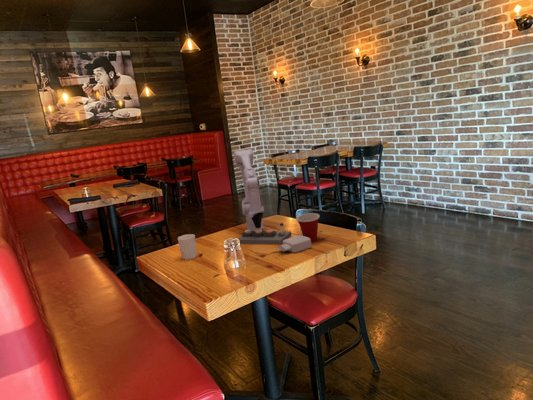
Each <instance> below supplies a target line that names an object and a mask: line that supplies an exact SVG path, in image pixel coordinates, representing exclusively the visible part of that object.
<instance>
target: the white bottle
mask: <svg viewBox="0 0 533 400" xmlns="http://www.w3.org/2000/svg"><path fill="white" fill-rule="evenodd" d="M311 248H312V242H311V239H310V238H308V237H305V236H303V235H301V234H299V235H295V236H292V237H289V238H288V239H285V240H283V243H282V244H280V245H279V246H278V247H277V248H276V250H278V251H279V252H280V251H281V252H282V253H283V252H287V251H288V252H290V253H295V254H297V253H298V252H302V251H305V250H308V249H311Z"/></svg>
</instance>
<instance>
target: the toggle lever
mask: <svg viewBox="0 0 533 400" xmlns="http://www.w3.org/2000/svg"><path fill="white" fill-rule="evenodd" d="M279 227H280V228H279V229H280V230H279V231H280V233H282V231H283V227H284V223H283V222H280V223H279Z"/></svg>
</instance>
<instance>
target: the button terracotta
mask: <svg viewBox="0 0 533 400" xmlns="http://www.w3.org/2000/svg"><path fill="white" fill-rule="evenodd" d="M265 231H266V232H267V234H272V233H273V231H274V229H272V228H270V229H267V230H265Z"/></svg>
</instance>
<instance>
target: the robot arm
mask: <svg viewBox="0 0 533 400" xmlns="http://www.w3.org/2000/svg"><path fill="white" fill-rule="evenodd" d="M233 156H234V158H233V159H234V162H235V167H236V168H239V170H240V172H241V177H242V183H243V188H244V194H245V197H244V198H243V199H242V201H241V209H242V214H243V215H244V216H245V220H246V226H247V229H251V231H255V230H257V229H262V230H263V229H264V228H266V226H265V225H264V221H263V217H264V211H265V206H262V201H261V194H260V187H261V185H260V179H259V176H258V175H257V174H256V171H255V168H254V167H252V166H253V164H254V151H253V149H252V148H249V149H242V150H234V152H233Z"/></svg>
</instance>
